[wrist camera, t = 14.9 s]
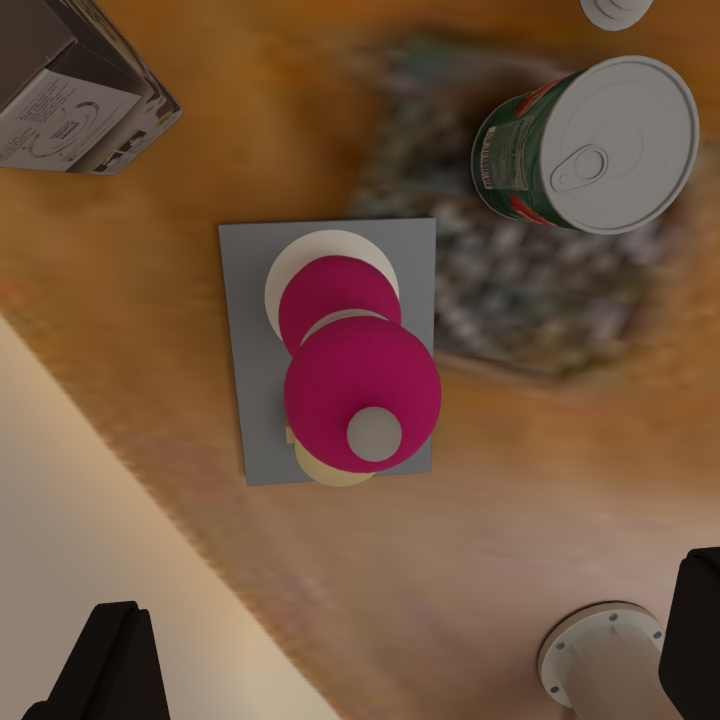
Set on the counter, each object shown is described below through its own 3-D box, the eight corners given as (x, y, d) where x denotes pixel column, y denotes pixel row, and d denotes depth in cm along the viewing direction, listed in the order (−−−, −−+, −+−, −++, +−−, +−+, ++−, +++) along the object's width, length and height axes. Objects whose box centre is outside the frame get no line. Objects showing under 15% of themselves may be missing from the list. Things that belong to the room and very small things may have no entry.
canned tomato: (561, 70, 33) (678, 19, 23) (598, 186, 36) (718, 187, 25) (450, 131, 34) (516, 107, 23) (495, 240, 36) (571, 263, 26)
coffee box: (189, 110, 32) (84, 43, 16) (113, 179, 32) (-55, 174, 17) (72, -33, 29) (-186, -275, 14) (-9, 45, 30) (-337, -100, 14)
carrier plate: (426, 462, 41) (447, 510, 35) (249, 475, 40) (239, 528, 34) (430, 216, 35) (457, 223, 29) (221, 223, 34) (203, 232, 28)
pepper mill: (261, 323, 35) (218, 495, 16) (312, 226, 33) (331, 290, 14) (355, 369, 36) (415, 572, 18) (407, 280, 35) (536, 400, 16)
